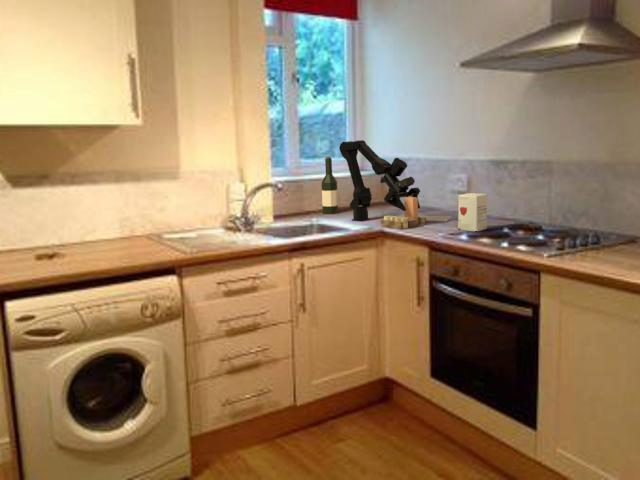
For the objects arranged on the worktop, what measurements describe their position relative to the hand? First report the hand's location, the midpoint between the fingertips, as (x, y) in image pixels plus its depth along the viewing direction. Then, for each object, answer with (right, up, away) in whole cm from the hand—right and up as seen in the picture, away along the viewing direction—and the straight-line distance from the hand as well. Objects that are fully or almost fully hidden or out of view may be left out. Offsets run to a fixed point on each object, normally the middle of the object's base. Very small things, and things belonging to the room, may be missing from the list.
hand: (412, 209), depth 270 cm
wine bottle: (-35, +1, +57) cm, 67 cm away
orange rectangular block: (0, -7, +2) cm, 7 cm away
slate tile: (+10, -5, +14) cm, 18 cm away
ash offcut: (-10, -8, -2) cm, 13 cm away
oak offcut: (-6, -8, -7) cm, 12 cm away
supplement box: (+24, -9, -12) cm, 28 cm away
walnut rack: (-3, -8, -1) cm, 9 cm away
